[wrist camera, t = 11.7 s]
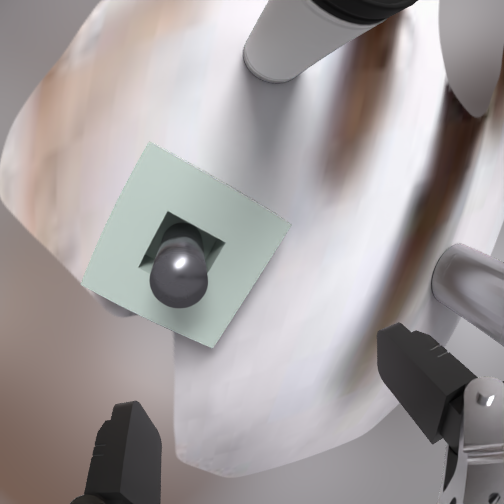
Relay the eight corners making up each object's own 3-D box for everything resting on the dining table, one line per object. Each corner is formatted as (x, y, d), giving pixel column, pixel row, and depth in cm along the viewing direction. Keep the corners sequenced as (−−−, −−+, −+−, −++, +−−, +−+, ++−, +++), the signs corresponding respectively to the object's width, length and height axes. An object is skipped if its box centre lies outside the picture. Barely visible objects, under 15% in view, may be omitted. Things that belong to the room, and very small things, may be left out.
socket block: (277, 214, 32) (291, 224, 28) (209, 323, 35) (212, 348, 30) (156, 144, 28) (149, 141, 23) (94, 266, 30) (80, 284, 26)
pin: (210, 235, 31) (218, 270, 21) (190, 269, 31) (191, 317, 22) (173, 215, 29) (165, 242, 20) (154, 250, 30) (140, 292, 21)
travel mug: (310, 81, 29) (445, 18, 10) (248, 86, 28) (333, -5, 9) (299, 29, 27) (410, -68, 8) (238, 32, 26) (300, -95, 7)
